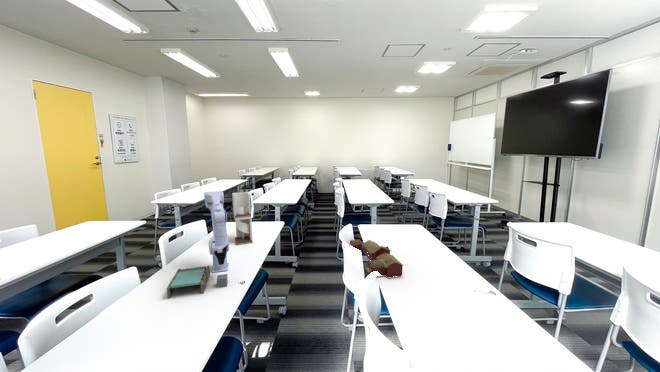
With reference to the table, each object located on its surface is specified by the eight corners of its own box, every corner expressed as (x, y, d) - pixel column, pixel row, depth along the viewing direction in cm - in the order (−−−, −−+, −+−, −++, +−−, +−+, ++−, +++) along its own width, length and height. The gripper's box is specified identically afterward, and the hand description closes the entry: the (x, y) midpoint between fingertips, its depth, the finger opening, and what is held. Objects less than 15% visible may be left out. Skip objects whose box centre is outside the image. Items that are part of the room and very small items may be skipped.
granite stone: (218, 283, 130) (217, 275, 129) (227, 282, 131) (227, 273, 131) (217, 288, 126) (216, 279, 125) (227, 286, 127) (226, 278, 126)
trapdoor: (181, 273, 134) (180, 268, 134) (206, 270, 137) (206, 265, 137) (170, 291, 117) (170, 286, 117) (200, 287, 121) (199, 282, 120)
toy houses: (406, 276, 137) (407, 258, 136) (370, 280, 133) (370, 262, 131) (373, 245, 181) (373, 231, 179) (345, 247, 176) (345, 233, 175)
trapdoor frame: (179, 277, 136) (178, 268, 135) (210, 274, 140) (209, 265, 139) (167, 298, 117) (166, 288, 116) (203, 293, 121) (202, 283, 120)
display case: (234, 240, 191) (232, 192, 185) (250, 237, 195) (247, 191, 190) (236, 245, 180) (233, 195, 175) (252, 242, 185) (250, 194, 180)
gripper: (227, 238, 124) (229, 266, 126) (230, 230, 138) (232, 254, 139) (211, 240, 122) (213, 268, 124) (216, 231, 136) (217, 256, 137)
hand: (222, 261), depth 131 cm, fingers open, 7 cm apart
